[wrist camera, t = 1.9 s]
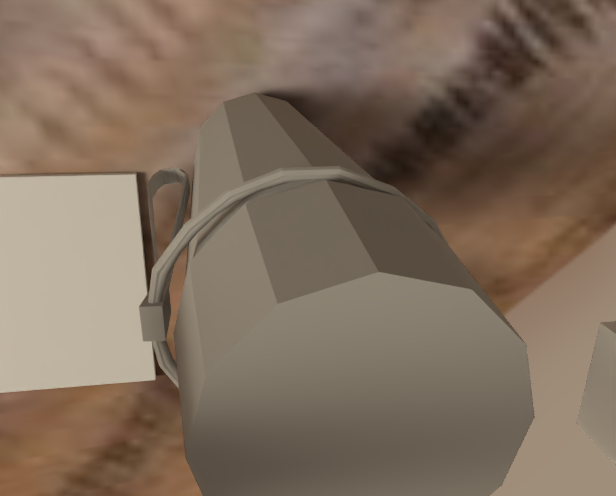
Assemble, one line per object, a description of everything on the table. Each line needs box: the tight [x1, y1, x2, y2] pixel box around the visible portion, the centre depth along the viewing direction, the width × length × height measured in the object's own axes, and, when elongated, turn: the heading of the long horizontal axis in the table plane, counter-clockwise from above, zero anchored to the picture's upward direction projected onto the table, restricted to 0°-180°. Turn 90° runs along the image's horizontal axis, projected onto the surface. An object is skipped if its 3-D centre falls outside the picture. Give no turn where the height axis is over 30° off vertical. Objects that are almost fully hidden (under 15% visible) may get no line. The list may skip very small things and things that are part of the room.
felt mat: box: [0, 172, 156, 393], centre depth 33 cm, size 14×14×1 cm
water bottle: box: [139, 93, 534, 496], centre depth 21 cm, size 9×8×25 cm
